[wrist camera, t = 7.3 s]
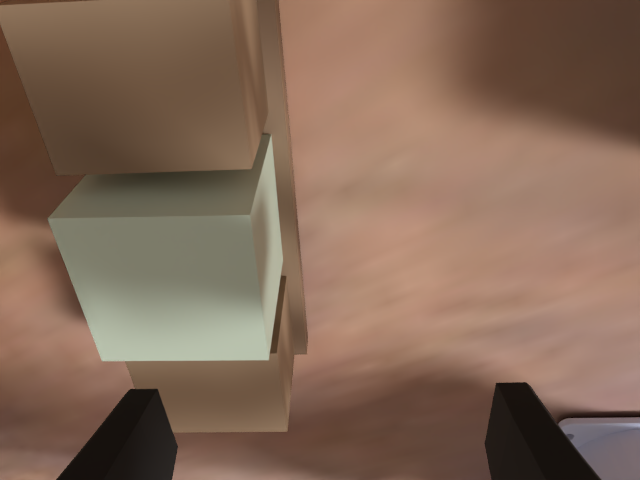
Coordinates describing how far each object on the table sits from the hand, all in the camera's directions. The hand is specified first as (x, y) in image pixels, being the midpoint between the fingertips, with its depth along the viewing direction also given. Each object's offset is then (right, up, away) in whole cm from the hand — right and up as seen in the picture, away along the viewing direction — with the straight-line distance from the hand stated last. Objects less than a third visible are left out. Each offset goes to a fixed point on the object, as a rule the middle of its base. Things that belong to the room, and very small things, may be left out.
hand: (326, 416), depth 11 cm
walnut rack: (-4, +6, +8) cm, 10 cm away
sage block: (-4, +5, +7) cm, 9 cm away
